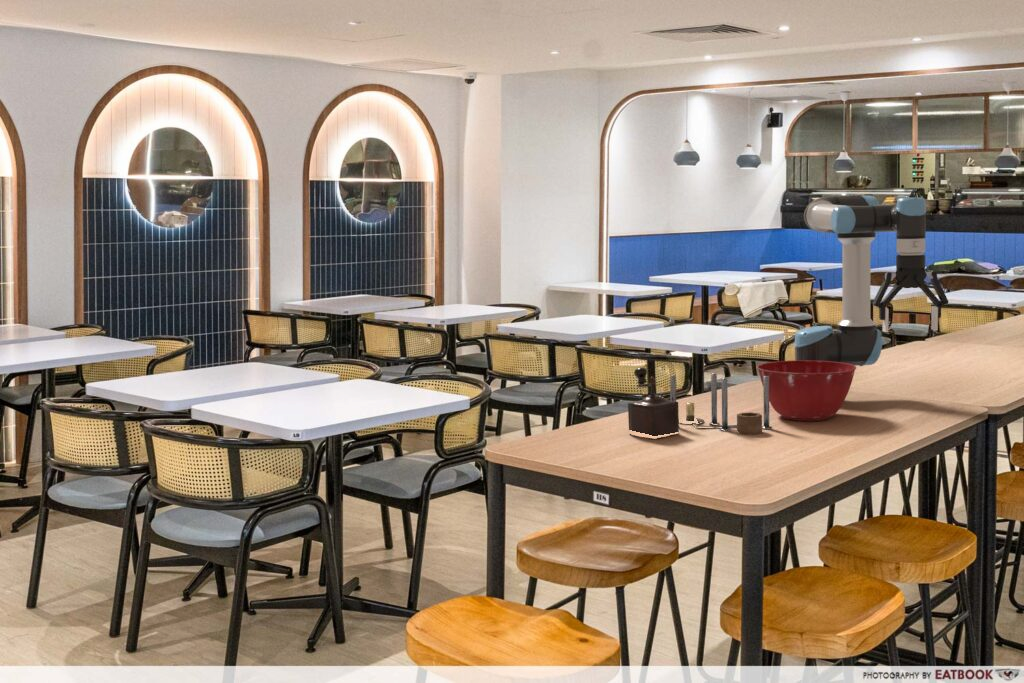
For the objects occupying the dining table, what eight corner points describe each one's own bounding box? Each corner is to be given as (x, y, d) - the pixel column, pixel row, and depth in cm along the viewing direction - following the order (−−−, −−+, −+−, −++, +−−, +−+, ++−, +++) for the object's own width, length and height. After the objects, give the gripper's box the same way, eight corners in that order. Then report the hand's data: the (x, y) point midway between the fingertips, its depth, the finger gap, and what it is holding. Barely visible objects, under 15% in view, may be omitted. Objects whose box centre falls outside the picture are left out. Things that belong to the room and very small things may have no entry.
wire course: (667, 425, 335) (666, 374, 333) (762, 421, 336) (761, 370, 334) (675, 433, 323) (674, 381, 322) (773, 429, 325) (773, 376, 323)
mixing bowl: (769, 406, 360) (769, 357, 358) (863, 410, 347) (863, 360, 345) (746, 423, 335) (746, 370, 333) (846, 429, 322) (847, 374, 320)
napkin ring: (735, 430, 325) (735, 413, 324) (757, 429, 325) (757, 412, 325) (741, 434, 319) (741, 417, 318) (763, 433, 319) (763, 416, 318)
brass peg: (674, 420, 342) (674, 401, 342) (700, 419, 343) (700, 400, 342) (679, 425, 334) (679, 406, 334) (706, 424, 335) (706, 404, 334)
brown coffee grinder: (681, 434, 323) (680, 370, 320) (654, 440, 316) (653, 375, 313) (642, 426, 335) (640, 365, 332) (614, 432, 328) (613, 370, 325)
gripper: (869, 256, 311) (869, 333, 313) (961, 253, 311) (960, 330, 314) (861, 254, 318) (860, 330, 321) (950, 251, 318) (949, 327, 321)
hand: (909, 331), depth 317 cm, fingers open, 13 cm apart
